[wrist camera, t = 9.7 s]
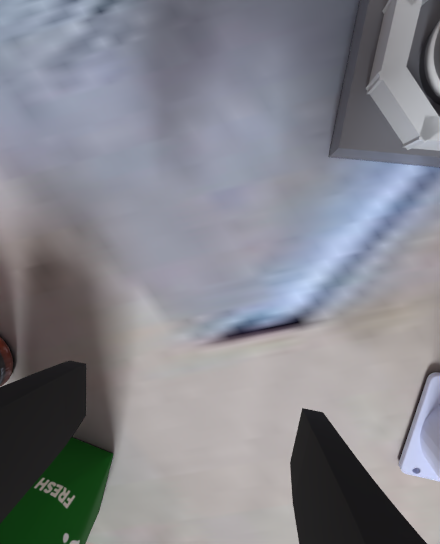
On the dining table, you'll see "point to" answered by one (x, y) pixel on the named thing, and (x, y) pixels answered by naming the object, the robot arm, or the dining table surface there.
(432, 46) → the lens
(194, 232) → the dining table surface
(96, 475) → the milk carton
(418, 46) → the grey base plate
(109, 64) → the dining table surface
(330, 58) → the dining table surface
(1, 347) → the supplement bottle
